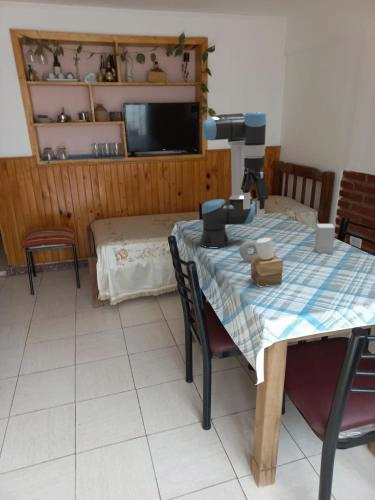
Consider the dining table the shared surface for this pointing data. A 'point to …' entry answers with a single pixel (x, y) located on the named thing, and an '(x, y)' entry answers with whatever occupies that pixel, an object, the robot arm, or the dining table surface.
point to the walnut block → (266, 278)
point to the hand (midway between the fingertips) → (253, 212)
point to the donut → (245, 247)
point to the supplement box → (324, 238)
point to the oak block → (266, 265)
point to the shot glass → (265, 248)
